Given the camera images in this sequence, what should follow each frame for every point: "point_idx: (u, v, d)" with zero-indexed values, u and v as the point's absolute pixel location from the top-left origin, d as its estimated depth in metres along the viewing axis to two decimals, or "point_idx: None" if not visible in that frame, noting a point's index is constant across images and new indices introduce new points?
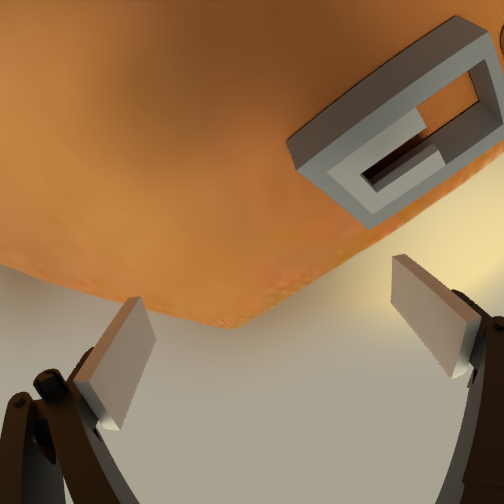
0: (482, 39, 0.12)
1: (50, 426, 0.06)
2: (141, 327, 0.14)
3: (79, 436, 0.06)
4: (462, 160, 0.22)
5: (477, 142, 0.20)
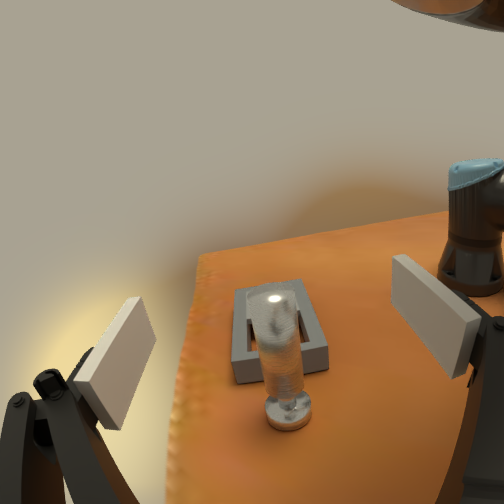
0: (323, 341, 0.36)
1: (50, 426, 0.06)
2: (141, 327, 0.14)
3: (79, 436, 0.06)
4: (240, 326, 0.43)
5: (246, 335, 0.40)
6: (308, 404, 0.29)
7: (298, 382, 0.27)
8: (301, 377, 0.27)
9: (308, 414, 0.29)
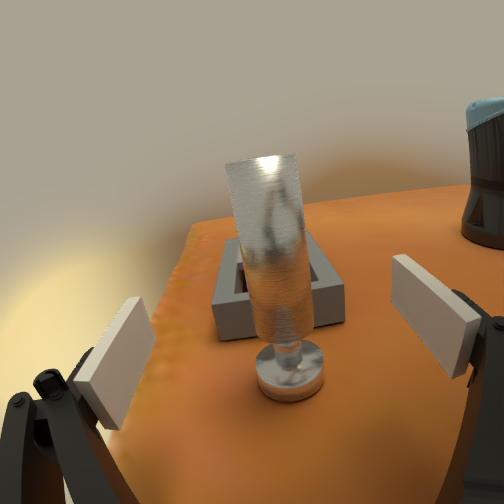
0: (337, 280, 0.27)
1: (50, 426, 0.06)
2: (141, 327, 0.14)
3: (79, 436, 0.06)
4: (227, 270, 0.34)
5: (235, 278, 0.32)
6: (320, 360, 0.20)
7: (305, 314, 0.18)
8: (310, 307, 0.18)
9: (320, 375, 0.20)
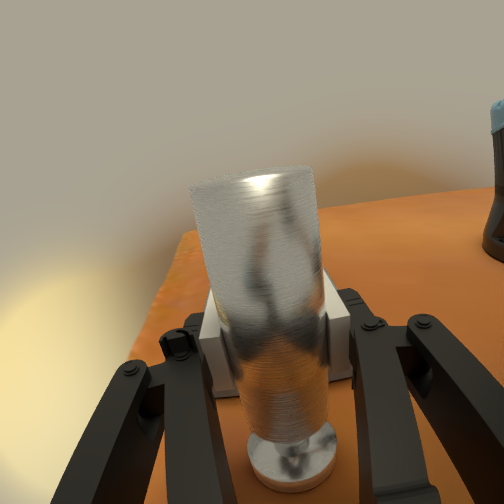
0: None
1: (166, 387, 0.08)
2: None
3: (196, 404, 0.07)
4: None
5: None
6: (332, 445, 0.13)
7: (318, 409, 0.11)
8: (324, 397, 0.12)
9: (331, 463, 0.13)
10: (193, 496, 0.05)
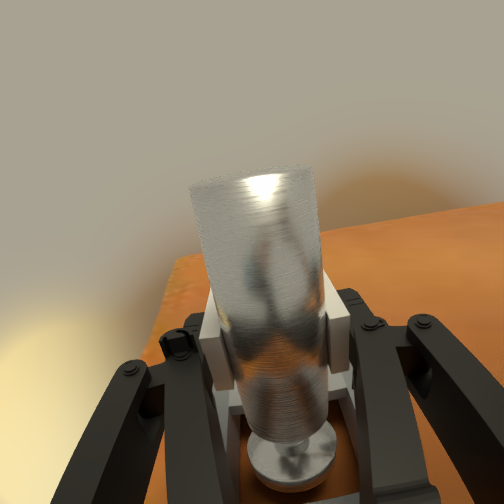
0: None
1: (166, 387, 0.08)
2: None
3: (196, 404, 0.07)
4: None
5: None
6: (332, 445, 0.13)
7: (318, 409, 0.11)
8: (324, 397, 0.12)
9: (331, 463, 0.13)
10: (193, 496, 0.05)
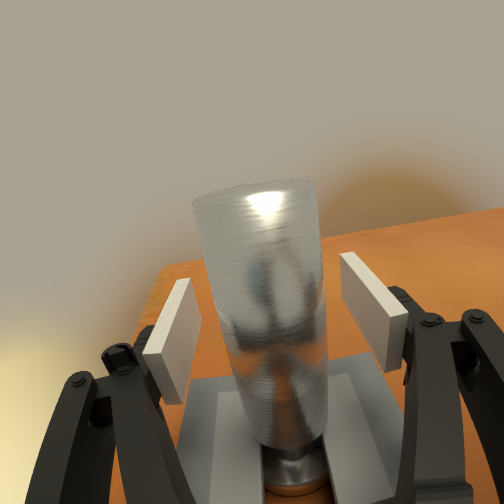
0: None
1: (112, 401, 0.08)
2: (192, 307, 0.15)
3: (142, 415, 0.07)
4: None
5: None
6: None
7: (318, 416, 0.11)
8: (325, 405, 0.12)
9: None
10: (151, 503, 0.04)
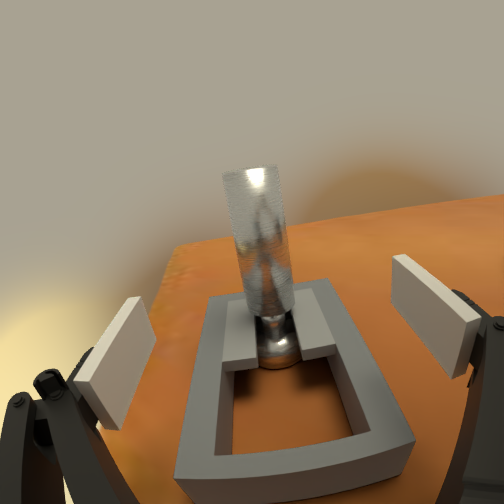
0: (403, 428, 0.12)
1: (50, 426, 0.06)
2: (141, 327, 0.14)
3: (79, 436, 0.06)
4: (206, 380, 0.18)
5: (217, 406, 0.16)
6: None
7: (286, 292, 0.23)
8: (290, 287, 0.23)
9: None
10: None
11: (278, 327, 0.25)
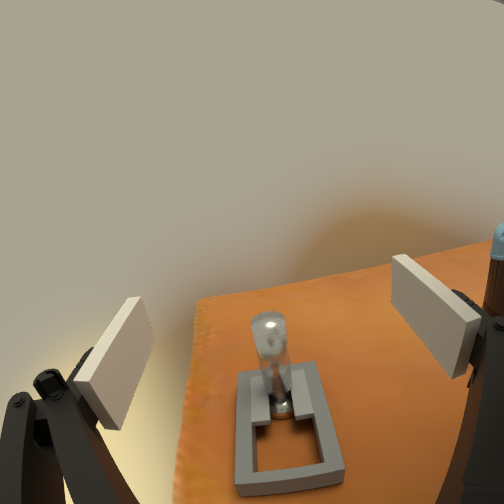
0: (340, 462, 0.26)
1: (50, 426, 0.06)
2: (141, 327, 0.14)
3: (79, 436, 0.06)
4: (244, 433, 0.32)
5: (251, 447, 0.30)
6: None
7: (287, 382, 0.37)
8: (290, 379, 0.37)
9: None
10: None
11: (282, 397, 0.39)
